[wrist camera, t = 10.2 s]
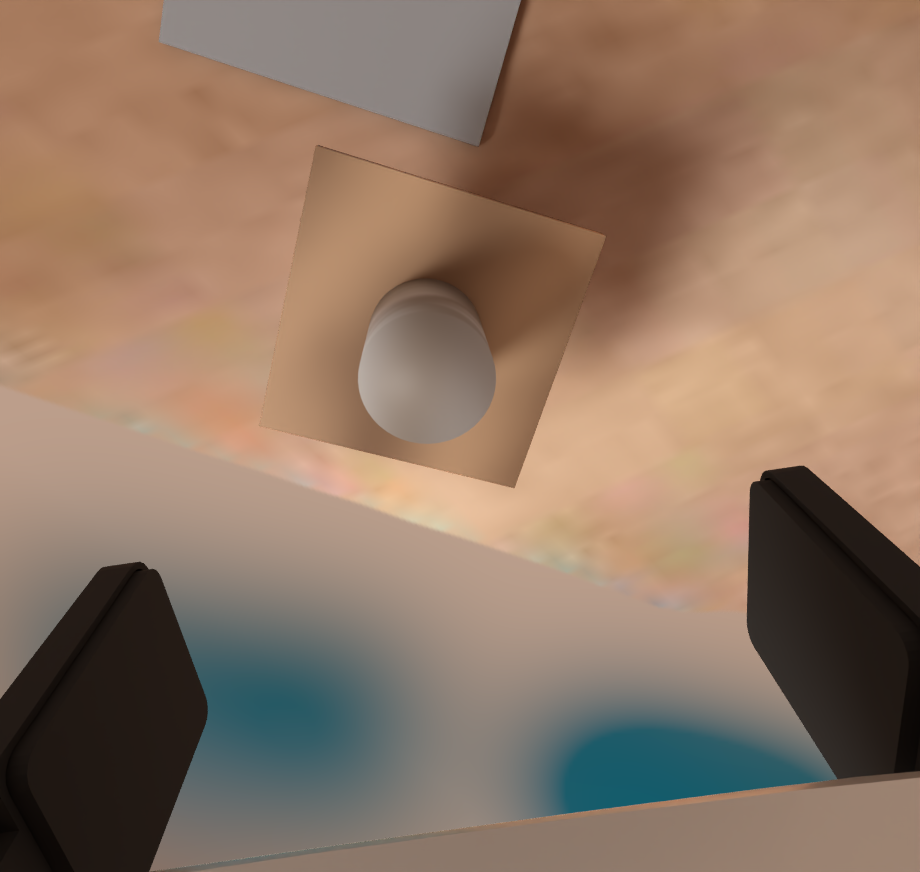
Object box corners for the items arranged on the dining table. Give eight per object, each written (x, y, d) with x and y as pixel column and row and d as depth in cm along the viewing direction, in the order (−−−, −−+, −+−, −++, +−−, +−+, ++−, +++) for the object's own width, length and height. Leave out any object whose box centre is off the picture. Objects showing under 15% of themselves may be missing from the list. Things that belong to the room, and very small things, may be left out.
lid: (600, 233, 25) (651, 260, 19) (512, 478, 28) (533, 558, 23) (319, 145, 23) (289, 149, 18) (263, 418, 27) (225, 489, 21)
